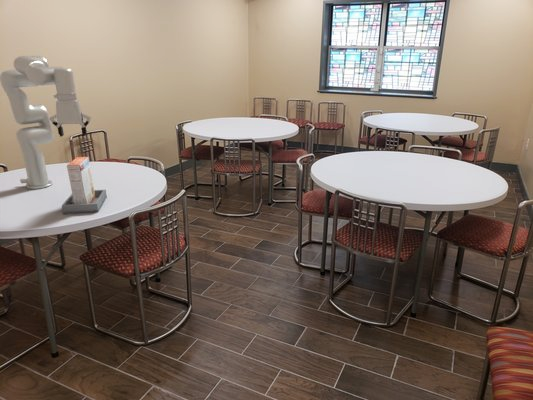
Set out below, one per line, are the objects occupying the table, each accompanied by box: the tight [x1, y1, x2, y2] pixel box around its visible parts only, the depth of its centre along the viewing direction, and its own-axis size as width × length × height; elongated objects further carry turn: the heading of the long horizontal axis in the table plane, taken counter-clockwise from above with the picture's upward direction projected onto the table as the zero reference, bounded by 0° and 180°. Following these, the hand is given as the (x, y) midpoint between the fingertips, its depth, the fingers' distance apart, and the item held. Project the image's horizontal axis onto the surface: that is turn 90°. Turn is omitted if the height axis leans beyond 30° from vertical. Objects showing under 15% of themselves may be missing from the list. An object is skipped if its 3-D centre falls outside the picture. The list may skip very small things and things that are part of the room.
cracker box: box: [66, 156, 95, 204], centre depth 189 cm, size 14×6×21 cm, turn 7°
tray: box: [61, 189, 108, 215], centre depth 193 cm, size 15×20×4 cm
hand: (73, 135), depth 186 cm, fingers open, 9 cm apart
